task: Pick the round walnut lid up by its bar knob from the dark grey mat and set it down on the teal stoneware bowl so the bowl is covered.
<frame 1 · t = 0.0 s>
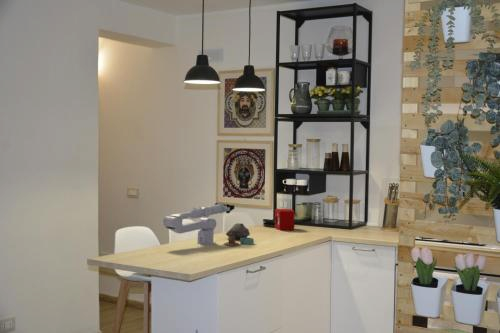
hand: (229, 206, 389), 22 cm above the worktop, fingers open, 7 cm apart
lid: (231, 244, 369), resting on mat
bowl: (246, 244, 375), on the worktop
stone: (237, 239, 395), on the worktop
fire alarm: (284, 229, 452), on the worktop
mat: (231, 245, 369), on the worktop
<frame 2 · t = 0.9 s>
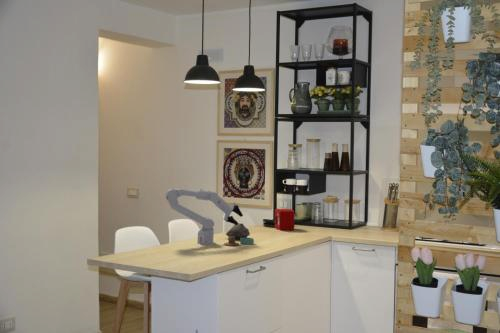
hand: (239, 220, 380), 14 cm above the worktop, fingers open, 7 cm apart
nothing on the worktop moved.
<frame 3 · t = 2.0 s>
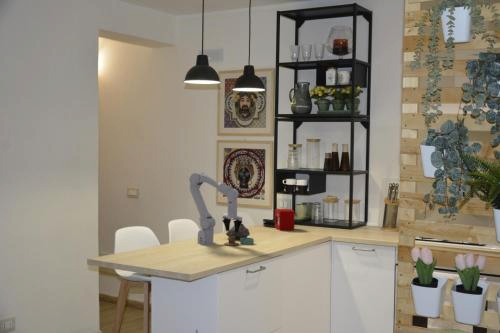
hand: (232, 231, 369), 8 cm above the worktop, fingers open, 7 cm apart
nothing on the worktop moved.
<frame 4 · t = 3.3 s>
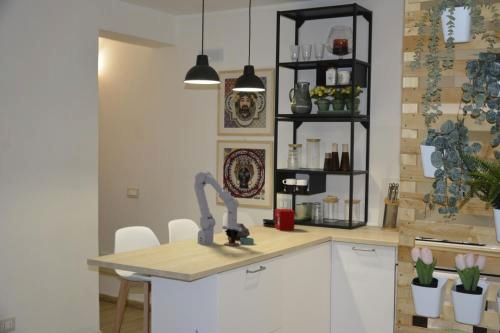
hand: (231, 242, 369), 2 cm above the worktop, fingers closed on lid
lid: (231, 244, 369), resting on mat, touching gripper
everything else where it was.
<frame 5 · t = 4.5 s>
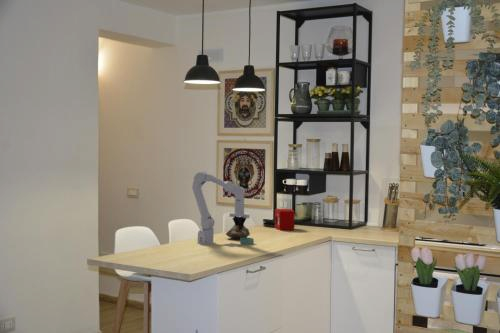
hand: (239, 229, 371), 10 cm above the worktop, fingers closed on lid
lid: (238, 233, 371), point 7 cm above the worktop, touching gripper
everything else where it was.
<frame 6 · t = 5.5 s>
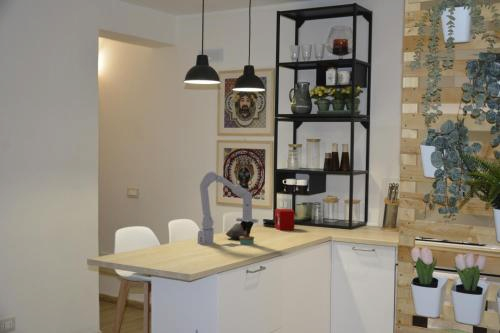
hand: (246, 233, 375), 6 cm above the worktop, fingers closed on lid, 2 cm apart
lid: (246, 238, 374), point 3 cm above the worktop, touching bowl, gripper
everything else where it was.
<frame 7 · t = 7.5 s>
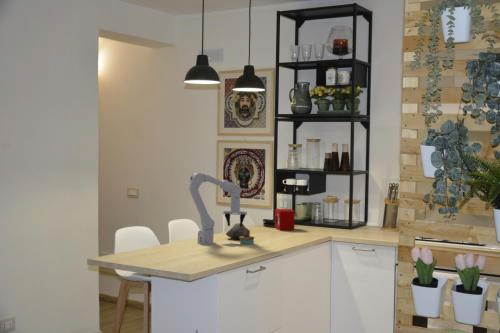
hand: (234, 226, 380), 10 cm above the worktop, fingers open, 7 cm apart
lid: (246, 238, 374), point 3 cm above the worktop, touching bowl
everything else where it was.
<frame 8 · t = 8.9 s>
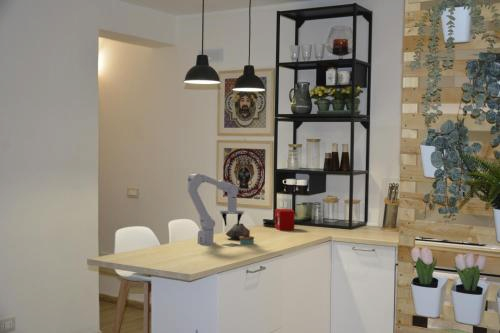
hand: (231, 225, 382), 10 cm above the worktop, fingers open, 7 cm apart
nothing on the worktop moved.
at the end: lid 0.2 cm off-centre on the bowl, point 3.5 cm above the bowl's base; lid tilted 0°; the gripper is holding nothing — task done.
